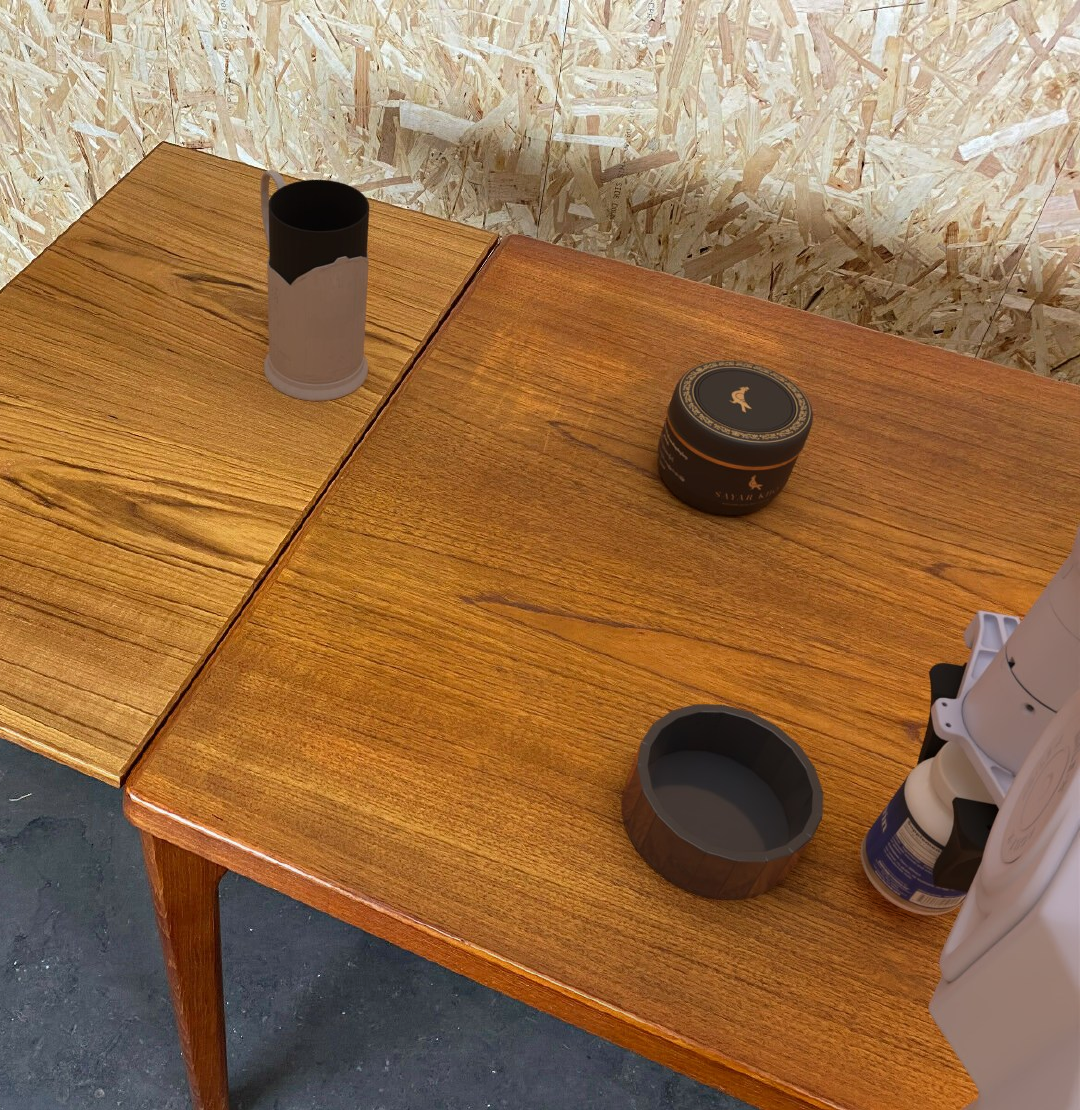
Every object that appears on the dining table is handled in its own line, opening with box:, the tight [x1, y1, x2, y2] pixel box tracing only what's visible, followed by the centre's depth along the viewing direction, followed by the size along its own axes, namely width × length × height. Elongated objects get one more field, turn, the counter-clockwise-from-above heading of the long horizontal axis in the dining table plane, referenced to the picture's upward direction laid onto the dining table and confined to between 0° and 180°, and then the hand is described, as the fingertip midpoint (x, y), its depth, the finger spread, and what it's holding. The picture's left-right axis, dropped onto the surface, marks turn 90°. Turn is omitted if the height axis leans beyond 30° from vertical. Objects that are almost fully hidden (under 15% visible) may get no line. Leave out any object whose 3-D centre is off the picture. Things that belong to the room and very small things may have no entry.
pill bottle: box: [860, 741, 996, 916], centre depth 60 cm, size 6×6×10 cm
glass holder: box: [259, 169, 370, 402], centre depth 92 cm, size 9×14×15 cm, turn 28°
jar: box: [657, 359, 814, 516], centre depth 85 cm, size 10×10×8 cm
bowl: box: [621, 703, 824, 901], centre depth 66 cm, size 10×10×4 cm
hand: (944, 828), depth 60 cm, fingers closed on pill bottle, 6 cm apart
